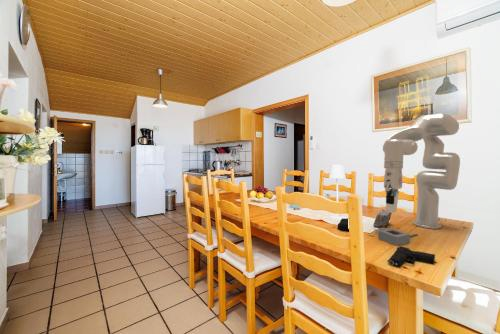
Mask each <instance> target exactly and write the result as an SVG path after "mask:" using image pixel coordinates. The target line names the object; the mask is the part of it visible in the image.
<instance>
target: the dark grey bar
mask: <svg viewBox="0 0 500 334" xmlns="http://www.w3.org/2000/svg"><path fill="white" fill-rule="evenodd" d="M415 237H419V234H417V233H414V234H410V239H411V238H415Z"/></svg>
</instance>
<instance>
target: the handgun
mask: <svg viewBox="0 0 500 334" xmlns="http://www.w3.org/2000/svg"><path fill="white" fill-rule="evenodd" d="M435 259H436V255H435V254H434V253H429V252H424V251H417V250H411V249H410V247H407V246H402V245H399V246H396V250H395V252H394V253H393V254H392V255H391V256H390V258H389V259H387V261H386V262H388V264H389V265H390V266H393V267H395V268H401V266H402V265H403V264H404V263H406V264H410V265H412V266H414V264H415V263H416V262H421V263H426V264H430V265H434V264H435Z"/></svg>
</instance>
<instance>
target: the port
mask: <svg viewBox="0 0 500 334" xmlns="http://www.w3.org/2000/svg"><path fill="white" fill-rule="evenodd" d="M377 235H378V237H377V238H378V239H379V240H380V241H383V242H386V243H388V244H391V245H392V246H393V245H394V246H396V247H399V246H402V245H406V244H407V245H408V244H410V243H411V238H410V235H411V234H410V233H407V232H403V231H401V230H397V229H394V228H390V227H389V228H386V229H385V230H379V234H377Z"/></svg>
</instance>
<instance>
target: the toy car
mask: <svg viewBox="0 0 500 334" xmlns="http://www.w3.org/2000/svg"><path fill="white" fill-rule="evenodd" d="M348 219H349V218H341V219H340V221H339V223H338V224H337V230H341V231H346V232H350V231H349V229H348Z"/></svg>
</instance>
